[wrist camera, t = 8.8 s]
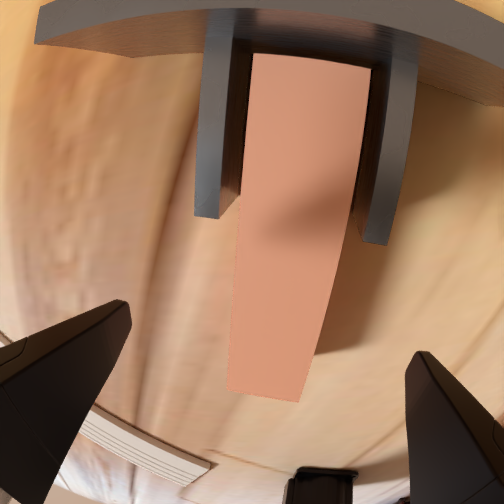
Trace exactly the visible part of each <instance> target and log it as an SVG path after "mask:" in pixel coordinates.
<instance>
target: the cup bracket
mask: <svg viewBox="0 0 504 504" xmlns="http://www.w3.org/2000/svg"><path fill="white" fill-rule="evenodd" d="M34 44H38V45H51V46H61V47H70V48H78V49H85V50H92V51H98V52H104V53H110V54H116V55H121V56H126V57H131V58H134V57H143V56H153V55H166V54H183V53H204V58H203V68H202V79H201V92H200V105H199V119H198V135H197V154H196V176H195V206H194V216H199V217H206V218H214V219H219V218H220V217H221V216H222V214H223V213H224V212H225V211H226V210H227V208H228V207H229V206H230V205H231V204H232V202H233V201H234V200H235V199H236V198H237V197H238V190H239V178H240V165H241V153H242V141H243V129H244V118H245V107H246V96H247V85H248V74H249V64H250V54H254V53H259V54H273V55H284V56H294V57H302V58H310V59H317V60H324V61H331V62H337V63H342V64H348V65H353V66H358V67H363V68H368V69H371V70H373V80H372V89H371V98H370V107H369V115H368V122H367V129H366V136H365V143H364V150H363V156H362V162H361V168H360V174H359V180H358V185H357V191H356V196H355V201H354V207H353V212H352V214H353V216H354V219H355V222H356V224H357V227H358V230H359V232H360V235H361V238H362V241H363V242H369V243H375V244H381V245H386V246H387V243H388V239H389V235H390V231H391V228H392V224H393V219H394V215H395V211H396V207H397V202H398V198H399V193H400V189H401V184H402V179H403V174H404V169H405V163H406V158H407V152H408V146H409V140H410V134H411V127H412V120H413V112H414V104H415V96H416V86H417V81H418V82H422V83H425V84H428V85H431V86H434V87H437V88H440V89H443V90H446V91H449V92H452V93H455V94H458V95H460V96H463V97H466V98H468V99H471V100H473V101H476V102H478V103H481V104H483V105H486V106H498V107H504V24H503V23H501V22H499V21H497V20H495V19H494V18H492V17H490V16H488V15H486V14H484V13H481V12H479V11H477V10H475V9H473V8H471V7H468V6H466V5H464V4H462V3H459V2H457V1H454V0H55V1H53V2H50V3H48V4H46V5H43V6H41V7H40V9H39V15H38V20H37V26H36V33H35V40H34Z"/></svg>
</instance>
